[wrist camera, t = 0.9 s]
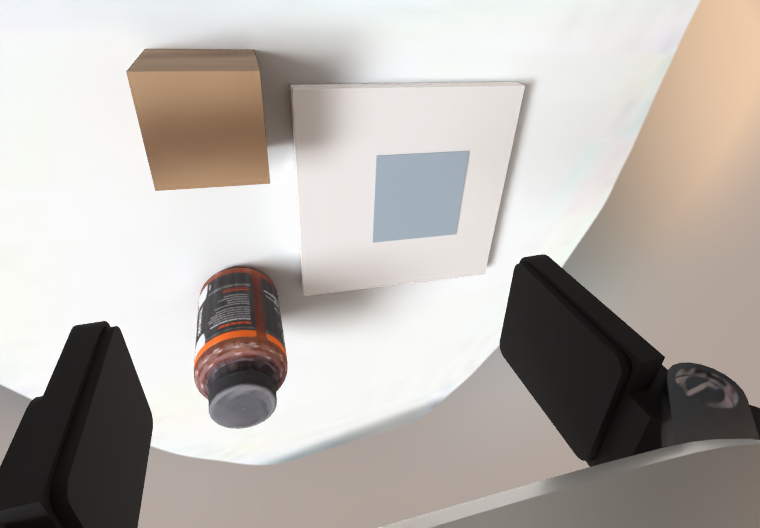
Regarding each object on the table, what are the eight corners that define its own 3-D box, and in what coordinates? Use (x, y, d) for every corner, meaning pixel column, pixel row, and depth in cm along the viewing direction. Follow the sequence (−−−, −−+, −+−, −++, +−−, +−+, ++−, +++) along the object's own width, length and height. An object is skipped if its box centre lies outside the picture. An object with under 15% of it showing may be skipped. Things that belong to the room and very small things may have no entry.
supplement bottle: (181, 292, 35) (165, 411, 26) (243, 250, 35) (249, 356, 26) (235, 334, 39) (236, 452, 30) (292, 296, 38) (311, 404, 29)
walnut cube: (145, 48, 26) (126, 71, 21) (254, 49, 27) (259, 70, 23) (167, 151, 29) (155, 190, 25) (263, 146, 31) (270, 183, 26)
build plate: (290, 84, 29) (292, 89, 28) (516, 81, 33) (525, 86, 32) (302, 287, 38) (304, 297, 37) (479, 266, 42) (485, 274, 41)
